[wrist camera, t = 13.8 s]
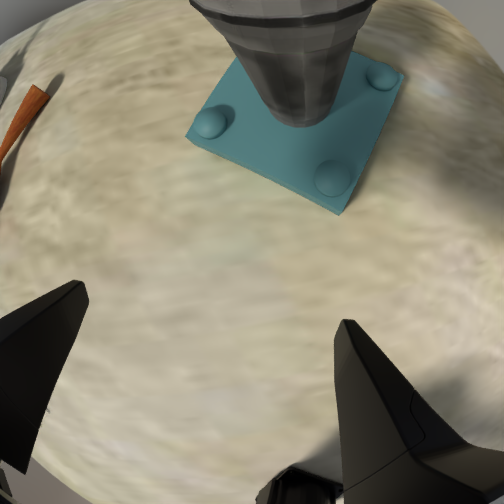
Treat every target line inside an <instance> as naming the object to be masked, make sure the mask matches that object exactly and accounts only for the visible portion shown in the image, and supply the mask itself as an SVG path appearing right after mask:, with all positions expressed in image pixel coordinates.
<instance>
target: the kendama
mask: <svg viewBox="0 0 504 504" xmlns="http://www.w3.org/2000/svg"><path fill="white" fill-rule="evenodd" d="M49 97H50V96H49V95H47V94H46V93H45V92H44V91H42V90H41V89H39V88H38V87H36V86H35V85H33V84H32V86H31V88H30V89H29V91H28V93H27V95H26V96H25V98H24V100H23V102H22V103H21V105H20V107H19V109H18V111H17V113H16V115H15V117H14V119H13V121H12V123H11V125H10V127H9V129H8V131H7V133H6V136H5V138H4V140H3V142H2V145H1V147H0V174H1V164H2V160H3V159H4V157H5V156H6V154H7V152H8V151H9V149H10V148H11V147H12V145H13V144H14V142H15V141H16V139H17V138H18V136H19V135H20V134H21V132H22V131H23V130H24V128H25V127H26V126H27V124H28V123H29V122H30V120H31V119H32V118H33V117H34V115H35V114H36V113H37V112H38V110H39V109H40V108H41V107H42V106H43V104H44V103H45V102H46V101H47V100H48V99H49Z"/></svg>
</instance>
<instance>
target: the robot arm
mask: <svg viewBox="0 0 504 504" xmlns="http://www.w3.org/2000/svg"><path fill="white" fill-rule="evenodd" d="M88 305H89V298H88V294H87V291H86V287H85V284H84V283H83V282H82V281H78V280H72V281H70V282H68V283H66V284H64V285H62V286H60V287H58V288H56V289H54V290H52V291H50V292H48V293H46V294H45V295H43V296H41V297H39V298H37V299H35V300H33V301H31V302H29V303H28V304H26V305H24V306H22V307H20V308H18V309H16V310H15V311H13V312H11V313H9V314H7V315H6V316H4V317H2V318H1V319H0V467H1V464H2V462H3V461H4V462H6V463H7V464H9V465H10V466H12V467H13V468H15V469H16V470H18V471H20V472H21V473H23V474H24V475H25V474H26V472H27V468H28V465H29V461H30V458H31V454H32V451H33V447H34V444H35V441H36V438H37V434H38V431H39V430H38V429H39V428H40V425H41V422H42V419H43V416H44V414H45V411H46V408H47V405H48V403H49V400H50V397H51V395H52V392H53V390H54V387H55V385H56V382H57V380H58V378H59V375H60V373H61V371H62V368H63V366H64V364H65V361H66V359H67V357H68V355H69V352H70V350H71V348H72V346H73V344H74V342H75V339H76V337H77V334H78V332H79V329H80V326H81V323H82V321H83V318H84V315H85V313H86V310H87V308H88ZM334 383H335V392H336V401H337V410H338V420H339V431H340V442H341V455H342V469H343V485H342V484H339V483H336V482H333V481H330V480H327V479H324V478H321V477H318V476H316V475H313V474H310V473H307V472H305V471H302V470H300V469H297V468H295V467H289V468H287V469H286V470H285V471H284V472H283V473H282V474H281V475H280V476H279V477H278V478H276V479H273V480H271V481H270V482H269V483H268V484H267V485H266V486H265V487H264V488H263V489H262V490H260V491H259V494H258V496H257V497H256V499H255V500H256V504H336V499H337V498H338V497H339V496H340V495H342V494H343V493H344V504H504V452H503V451H497V450H492V449H487V448H482V447H477V446H474V445H472V444H470V443H468V442H466V441H465V440H464V439H463V438H462V437H460V436H459V435H458V434H457V433H456V432H455V431H454V430H453V429H452V428H451V427H450V426H449V425H448V424H447V423H446V422H445V421H444V420H443V419H442V418H441V417H440V416H439V415H438V414H437V413H436V412H435V411H434V410H433V409H432V408H431V407H430V406H429V404H428V403H427V402H426V401H425V400H424V399H423V398H422V397H421V395H420V394H419V393H418V392H417V391H416V390H414V387H413V386H412V385H411V384H410V383H409V381H408V380H407V379H406V378H405V377H404V376H403V374H402V373H401V372H400V371H399V370H398V369H397V367H396V366H395V365H394V364H393V363H392V362H391V361H390V359H389V358H388V357H387V356H386V355H385V354H384V353H383V351H382V350H381V349H380V348H379V347H378V346H377V345H376V344H375V342H374V341H373V340H372V339H371V338H370V337H369V336H368V335H367V333H366V332H365V331H364V330H363V329H362V328H361V327H360V326H359V324H358V323H357V322H356V321H355V320H351V319H343V320H342V321H341V322H340V325H339V327H338V330H337V332H336V335H335V338H334ZM291 471H292V472H291ZM0 504H20V503H19V502H17V501H16V500H14V499H13V498H12V494H11V491H10V488H9V485H8V483H7V480H6V477H5V473H4V471H3V469H1V468H0Z"/></svg>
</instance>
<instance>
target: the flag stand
mask: <svg viewBox="0 0 504 504" xmlns="http://www.w3.org/2000/svg"><path fill="white" fill-rule="evenodd" d="M6 88H7V79H6V78H4V77H2V76H0V105H1V103H2V100H3V98H4V95H5V92H6Z"/></svg>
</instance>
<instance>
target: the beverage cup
mask: <svg viewBox="0 0 504 504" xmlns="http://www.w3.org/2000/svg"><path fill="white" fill-rule="evenodd" d="M376 1H377V0H189V2H190V5H192V6H193V7H194V8H195V9H197V10H198V11H199V12H200V13H202V15H203V16H204V17H205V18H206V19H207V20H208V21H209V22H210V23H211V24H212V25H213V27H214V28H215V29H216V30H217V31H219V32H220V33H221V34H222V35H223V36H224V37H225V39H226V40H227V42H228V43H229V45H230V47H231V48H232V50H233V51H234V53H235V55H236V56H237V58H238V60H239V61H240V63H241V64H242V66H243V68H244V69H245V71H246V73H247V75H248V76H249V78H250V80H251V81H252V83H253V85H254V87H255V88H256V90H257V92H258V94H259V95H260V97H261V99H262V101H263V102H264V104H265V105H266V106H267V107H268V109H269V111H270V113H271V114H272V115H273V116H274V117H275V119H276V120H278V121H280V122H281V123H283V124H284V125H287V126H291V127H294V128H306V127H310V126H314V125H316V124H318V123H319V122H321V121H323V120H324V119H325V118H326V116H327V115H328V114H329V113H330V110H331V107H332V105H333V104H334V101H335V98H336V96H337V93H338V90H339V87H340V84H341V81H342V78H343V75H344V72H345V69H346V66H347V63H348V60H349V57H350V53H351V50H352V47H353V44H354V41H355V38H356V35H357V32H358V30H359V29H360V28H361V27H362V26H363V24H364V22H365V20H366V18H367V17H368V15H369V13H370V11H371V8H372V4H374V3H375V2H376Z"/></svg>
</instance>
